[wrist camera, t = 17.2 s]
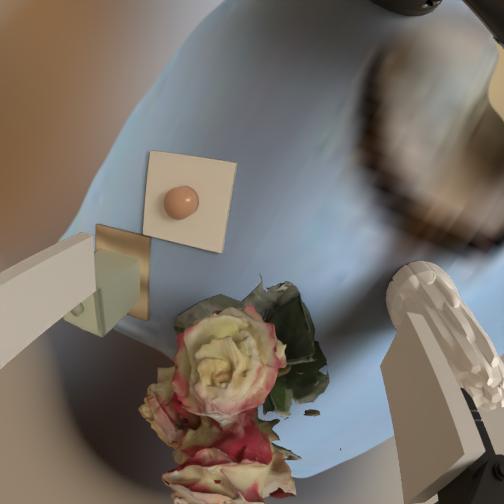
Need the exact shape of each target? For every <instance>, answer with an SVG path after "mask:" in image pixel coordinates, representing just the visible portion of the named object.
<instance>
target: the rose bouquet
mask: <svg viewBox="0 0 504 504" xmlns="http://www.w3.org/2000/svg"><path fill="white" fill-rule="evenodd" d="M259 274H260V273H259ZM260 277H261V275H260ZM261 280H262V277H261ZM267 289H268V292H266V291H265V290H263V283H262V282H261V284H260V285H259V286H258V287H257V288H256V289H255V290H254V291H253V292H252V293H251V294H250V295H249V296H248V297H247V298H246V299H245V300H243V301H242V302H240V301H237V300H235V299H232V298H229V297H227V296H224V295H222V294H220V295H217V296H215V297H212V298H211V299H206V300H204V301H201V302H199V303H198V304H196V305H195V306H194V307H192V308H190V309H189V310H188V311H185V312H184V313H182V314H180V315H178V318H177V319H176V322H175V323H174V324H175V325H176V326H175V327H174V329H176V330H175V332H176V334H177V343H178V351H177V353H176V356H175V357H174V362H175V366H173V367H170V368H161V367H160V366H159V367H158V369H157V371H158V378H157V380H158V384H151V385H150V386H149V387H148V388H147V390H148V393H147V395H146V397H145V398H144V402H145V404H143V405H141V407H140V408H139V411H140V413H141V414H142V417H144V418H145V419H146V420H147V421H149V422H150V423H151V427H152V428H153V429H154V430H155V431H156V432H157V435H158V436H159V438H161V439H162V440H163V442H165V443H167V445H168V446H170V447H173V448H175V449H176V450H175V451H174V452H172V455H173V457H174V459H175V462H176V463H178V464H179V465H178V466H177V467H176V468H175V469H172V470H170V471H168V472H167V473H165V474H163V476H162V480H163V481H164V483H165V484H166V485H167V486H169V487H171V488H172V489H173V490H174V491H175V493H172V495H171V497H172V499H173V500H174V503H175V504H224V503H223V501H226V504H265V502H264V499H263V498H264V497H267V496H269V497H274V498H284V497H293V496H294V497H296V487H295V486H294V484H295V482H294V481H293V479H292V478H291V470H290V468H289V466H288V465H287V464H286V462H285V460H300V459H302V458H301V457H300V456H297V455H295V454H294V453H293V452H291V450H287V449H285V448H283V447H280V446H277V445H275V444H274V443H272V442H271V441H274V440H280V439H279V436H278V435H277V434H276V433H275V432H274V431H273V430H272V428H273V427H274V426H275V425H276V424H277V423H279V421H280V420H279V419H274V420H272V421H263V420H260V419H259V418H258V409H257V408H258V406H259V405H263V414H264V415H266V413H267V411H268V412H269V411H272V412H273V411H274V412H275V413H278V415H280V416H281V417H285V416H289V415H291V413H290V407H291V405H292V404H291V396H293V398H294V401H295V402H296V404H301V403H307V402H314V401H315V400H316V398H317V397H318V395H320V394H322V393H323V392H324V391H325V389H326V387H327V386H328V384H329V382H330V381H329V375H328V372H327V375H324V374H323V373H321V372H319V369H320V368H322V367H323V366H325V365H327V363H326V361H327V360H326V358H325V356H324V355H323V353H322V351H321V348H320V346H319V343H318V342H317V341H314V335H315V328H314V325H313V322H312V319H311V316H310V313H309V311H308V309H307V307H306V306H305V304H304V303H303V302H302V300H301V297H300V293H299V291H298V289H297V287H296V286H294V285H293V284H292V283H290V282H285V283H283V284H282V283H279V284H278V285H277V286H272V287H270V288H267ZM263 311H264V312H265V313H266V314H267V316H266V314H265V318H264V319H262V316H261V315H262V312H263ZM327 370H328V369H327ZM304 415H307V416H318V415H320V412H319V411H317V410H311V409H309V410H306V411H305V414H304ZM287 418H289V417H287ZM287 418H286V419H287ZM340 450H341V448H340Z"/></svg>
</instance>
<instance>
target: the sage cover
mask: <svg viewBox="0 0 504 504" xmlns="http://www.w3.org/2000/svg"><path fill="white" fill-rule="evenodd" d="M94 265H95V282H96V291H95V292H94V293H93V294H91V295H90V296H89V297H87V298H86V299H85V300H83V301H82V302H81V303H80V304H78V305H77V306H76V307H74V308H73V309H72V310H71V311H69V312H68V313H67V314H66V315H64V320H66V321H68V322H70V323H72V324H74V325H76V326H78V327H80V328H82V329H85V330H87V331H89V332H91V333H93V334H96V335H98V336H100V337H104V336H105V335H106V334H107V333H108V331H110V330H111V329H112V328H113V327H114V326H115V325H116V324H117V323H118V322H119V321H120V320H121V319H122V318H123V317H124V316H125V315H126V314H127V313H128V312H129V311H130V310H131V309H132V308H133V307H134V306H135V305H136V304H137V303H138V302H139V301H140V259H138V258H135V257H131V256H128V255H124V254H121V253H117V252H114V251H110V250H107V249H104V248H102V249H100V250H99V251H97V252H95V253H94Z"/></svg>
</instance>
